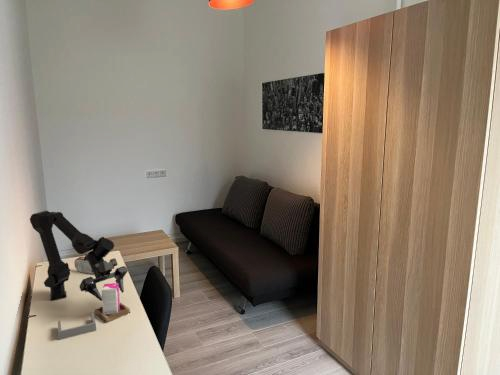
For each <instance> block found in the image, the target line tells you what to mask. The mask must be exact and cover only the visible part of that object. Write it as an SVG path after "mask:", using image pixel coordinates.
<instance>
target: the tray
mask: <svg viewBox="0 0 500 375" xmlns="http://www.w3.org/2000/svg"><path fill="white" fill-rule="evenodd" d="M128 313H129V314H131V310H130V308H129V307H128V306H126V305H125V304H124V303H122V302H120V309H119V311H118V312H117V313H115V314H113V315H110V316H106V315H104V314H103V306H101V307H98V308H96V309H94V315H96V316H97V317H99V319H101V320H102V321H104V322H105V323H106V324H107V323H111V322H112V321H114V320H117V319H119V318H121V317H124V316H126V315H128Z"/></svg>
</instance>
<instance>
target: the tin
mask: <svg viewBox="0 0 500 375" xmlns="http://www.w3.org/2000/svg"><path fill="white" fill-rule="evenodd" d="M84 257H85V256H84V255H83V256H79V257H77V258H76V259H75V260H74V268H75V269H76V271H77V272H79V273H82V274H87V275H94V273H92V272H91V270H92V269H91V266H90V264H89V262H88V260H86V261H84Z"/></svg>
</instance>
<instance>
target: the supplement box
mask: <svg viewBox="0 0 500 375" xmlns="http://www.w3.org/2000/svg"><path fill="white" fill-rule="evenodd" d="M101 297H102V301H101V303H102V307H103V314H104V315H106V316H110V315H113V314H115V313H117V312H118V311H119V309H120V303H121V302H120V289H119V283H116V282H114V283H104V284H103V286H102V288H101Z"/></svg>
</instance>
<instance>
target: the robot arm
mask: <svg viewBox="0 0 500 375" xmlns="http://www.w3.org/2000/svg"><path fill="white" fill-rule="evenodd" d="M29 221H30V224H31V226H32V228H33V229H34V230H35V231H36V232H37V233H38V234H39V236H40V239H41V240H40V241H41V243H42V246H43V250H44V252H45V256H46V259H47V261H48V267H47V270H46V272H47V278H46V279H45V280H44V282H43V285H44V287H46V288H49V290H50V295H49V296H50V297H49V300H50V301H55V300H60V299H64V298H67V297H68V296H67V295H68V294H67V291H66V288H65V282H68V281H69V279H70V276H71V268H70V266H69V263H68V262H64V261H63V260H62V258H61V255H60V251H59V248H58V244H57V242H56V238H55V237H54V233H53V226H55V227H56V228H57V229H58V230H59V231H60V232H62V234H63V235H64V236H66V237H67V238H68V239H69V240H70V242H71V247H72V248H73V249H74V250H75V252H76V253H77V254H79V255H83V254H85V253H86V254H85V256H83V257H84V261H86V260H88V262H89V264H90V266H91V269H92V270H91V272H92V273H94V274H93V276H94V277H95V278H93V277H92V276H89V277H86V278H82V280H81V281H80V284H79V290H80V291H81V292H85V293H87V292H88V293H89V294H91V295H92V296H94V297H95V298H97V300H99V301H100V302H102V294H101V292H100V291H99V289H98V286H97V284H98V283H101V282H104V281H107V280H109V279H112V278H114V279H115V283H119V291H120V292H121V293H122V294H124V292H125V288H124V277H125V276H126V275H127V273H129V272H128V271H129V270H128V268H127V266H124V265H123V266H119V267H117V266H118V261H117V259H116V257H115V258H111V259H109V261H107V260H105V259H104V258H106V257H107V256H108V255H109V254H110V253H111V251H113V250H114V248H115V244H114V242H113V241H112V240H111V239H110V238H106V237H104V236H101V237H99V238H98V240H96V239H94V238H93V237H91V235H89V234H87V233H83V232H81V231H80V230H79V229H77V228H76V227H75V226H74V225H73V224H72V223H71V222H70V221H69V219H67V218H66V217H65V216H64V215H63V212H61V211H57V212H56V211H48V210H43V211H42V210H41V211H39V212H35V213H33V214H31V216H30V218H29ZM115 267H116V268H115ZM113 269H115V270H114V272H113Z"/></svg>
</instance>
